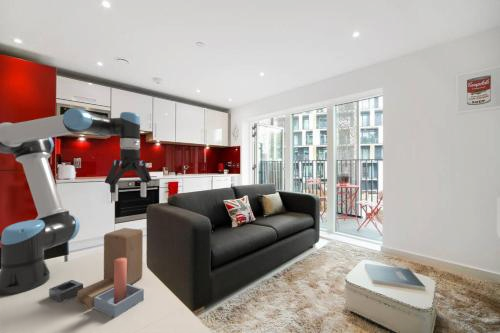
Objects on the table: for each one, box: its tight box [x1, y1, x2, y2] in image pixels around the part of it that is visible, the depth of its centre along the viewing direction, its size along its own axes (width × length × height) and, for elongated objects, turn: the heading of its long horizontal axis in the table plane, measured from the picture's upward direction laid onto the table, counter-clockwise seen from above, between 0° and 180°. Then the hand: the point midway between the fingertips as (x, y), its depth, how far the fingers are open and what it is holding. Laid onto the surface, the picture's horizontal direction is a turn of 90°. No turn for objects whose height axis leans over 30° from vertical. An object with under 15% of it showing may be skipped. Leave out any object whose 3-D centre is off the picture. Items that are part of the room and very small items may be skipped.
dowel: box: [114, 258, 127, 304], centre depth 75 cm, size 4×4×14 cm
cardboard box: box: [76, 278, 114, 309], centre depth 79 cm, size 8×10×4 cm
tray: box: [93, 284, 145, 318], centre depth 75 cm, size 10×10×4 cm
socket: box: [48, 279, 84, 304], centre depth 80 cm, size 7×7×3 cm
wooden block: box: [103, 227, 144, 285], centre depth 89 cm, size 10×10×20 cm
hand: (129, 198), depth 97 cm, fingers open, 13 cm apart
